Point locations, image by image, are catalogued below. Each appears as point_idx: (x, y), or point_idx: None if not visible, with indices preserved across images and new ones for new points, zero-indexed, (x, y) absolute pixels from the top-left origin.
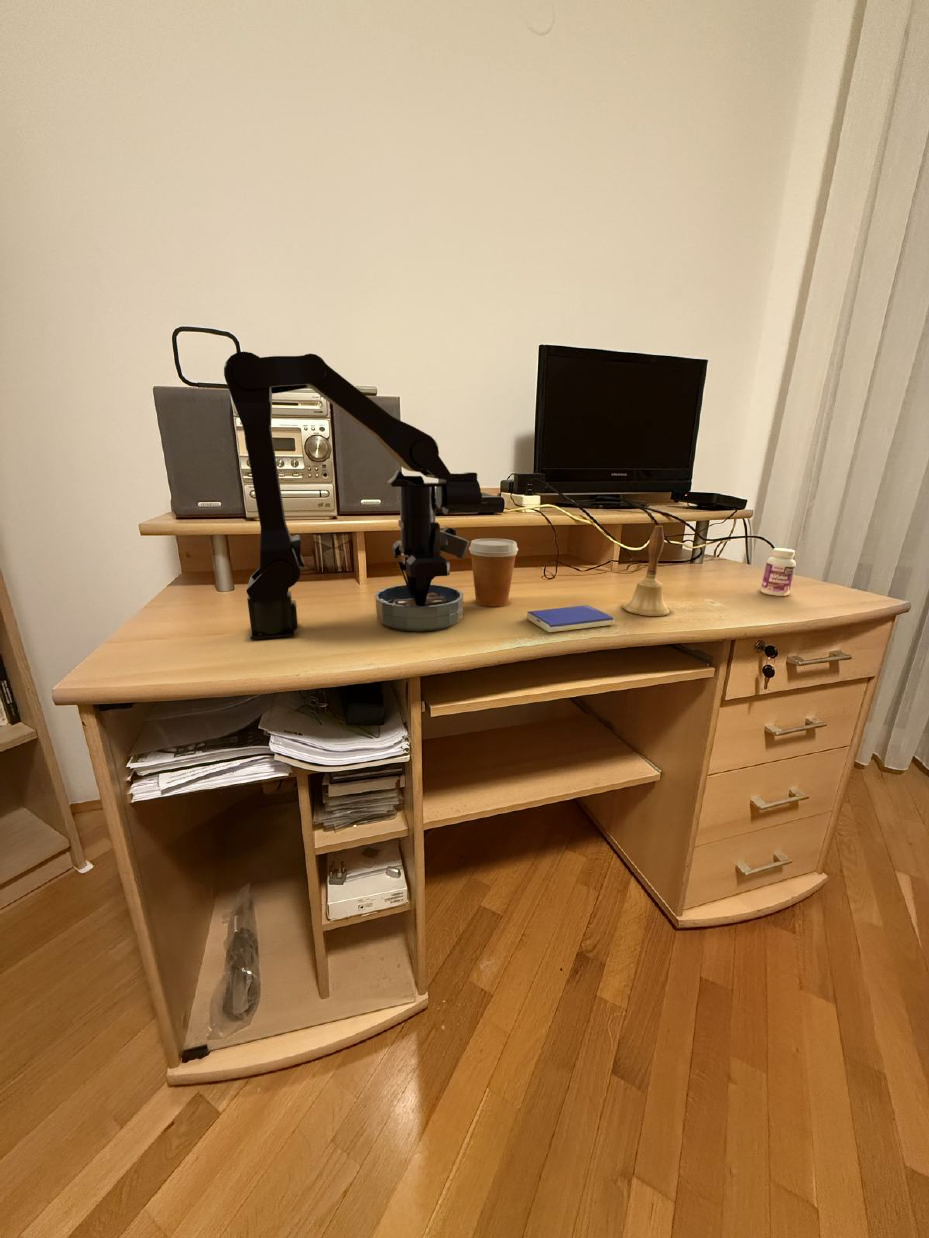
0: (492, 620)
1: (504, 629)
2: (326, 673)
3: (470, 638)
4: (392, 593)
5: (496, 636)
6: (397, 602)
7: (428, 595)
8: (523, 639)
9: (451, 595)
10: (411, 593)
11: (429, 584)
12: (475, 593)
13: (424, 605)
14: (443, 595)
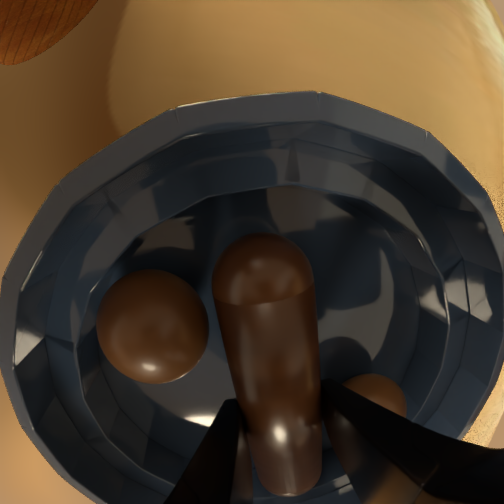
0: (317, 13)
1: (419, 25)
2: (493, 431)
3: (488, 171)
4: (137, 495)
5: (474, 83)
6: (314, 483)
7: (170, 376)
8: (480, 30)
9: (121, 187)
10: (251, 477)
11: (459, 444)
12: (2, 49)
13: (337, 382)
14: (71, 248)
